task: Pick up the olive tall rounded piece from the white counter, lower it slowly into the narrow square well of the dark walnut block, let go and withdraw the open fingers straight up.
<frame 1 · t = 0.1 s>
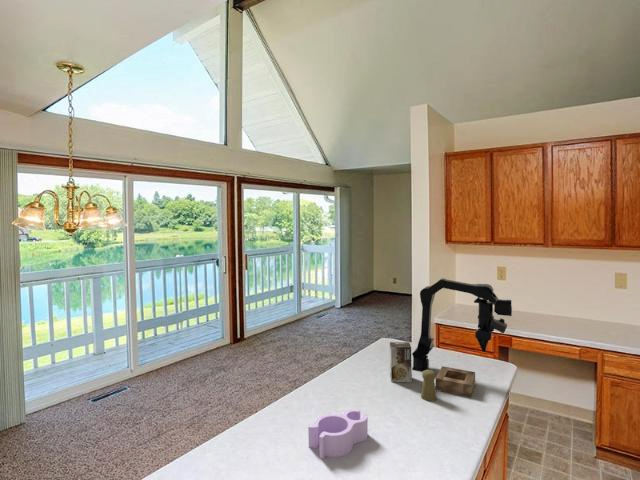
hand: (484, 348, 163), 15 cm above the table, fingers open, 9 cm apart
well block: (455, 386, 159), on the table
olive tall rounded piece: (428, 398, 150), on the table
clip: (340, 442, 121), on the table
coffee box: (400, 379, 167), on the table
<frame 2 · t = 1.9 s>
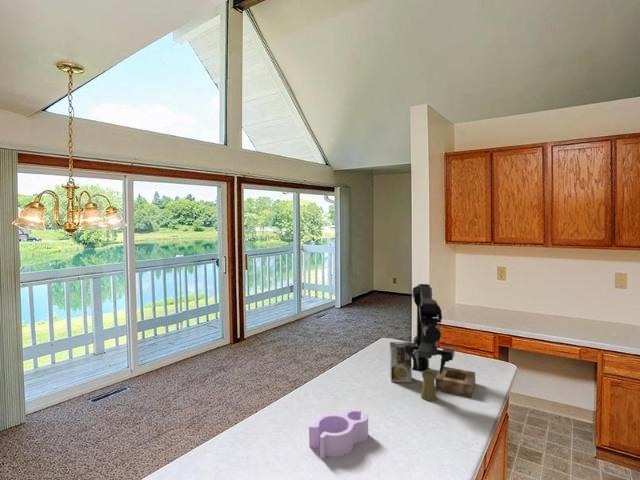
hand: (428, 371, 149), 11 cm above the table, fingers open, 9 cm apart
nothing on the table moved.
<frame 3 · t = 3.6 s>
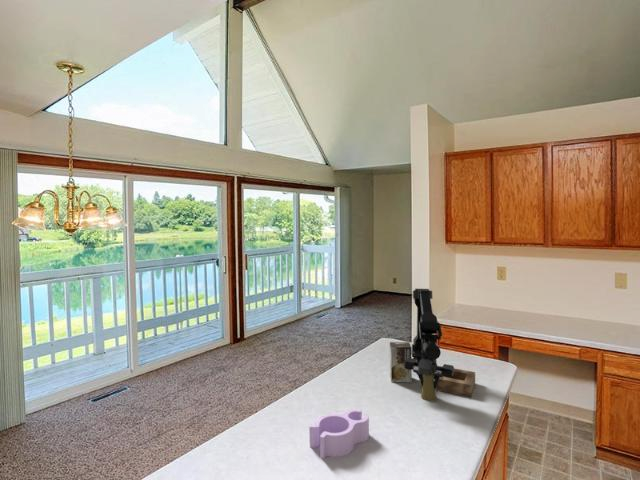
hand: (428, 387, 150), 4 cm above the table, fingers closed on olive tall rounded piece, 4 cm apart
olive tall rounded piece: (428, 397, 150), on the table, touching gripper
everything else where it was.
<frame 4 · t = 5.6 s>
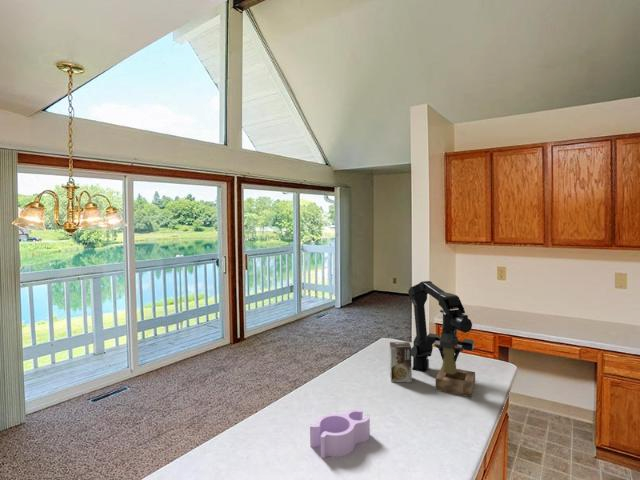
hand: (449, 361, 156), 12 cm above the table, fingers closed on olive tall rounded piece, 4 cm apart
olive tall rounded piece: (449, 371, 156), point 8 cm above the table, touching gripper
everything else where it was.
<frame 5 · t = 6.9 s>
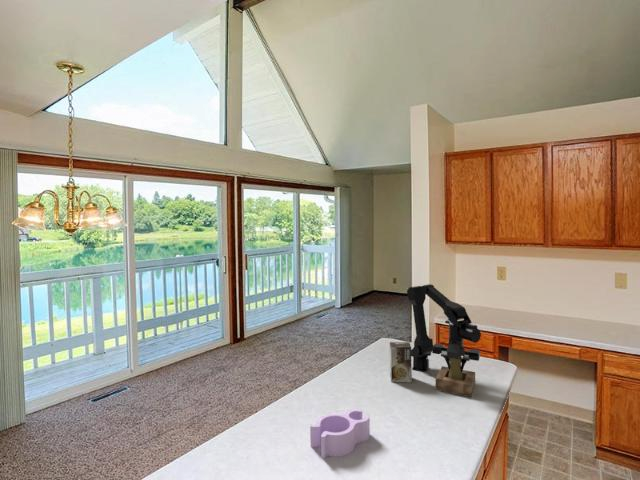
hand: (455, 371, 159), 7 cm above the table, fingers closed on olive tall rounded piece, 4 cm apart
olive tall rounded piece: (455, 380, 159), point 2 cm above the table, touching gripper
everything else where it was.
when the fingers open (6 cm above the table, at t = 7.7 s): olive tall rounded piece drops 1 cm, resting on well block.
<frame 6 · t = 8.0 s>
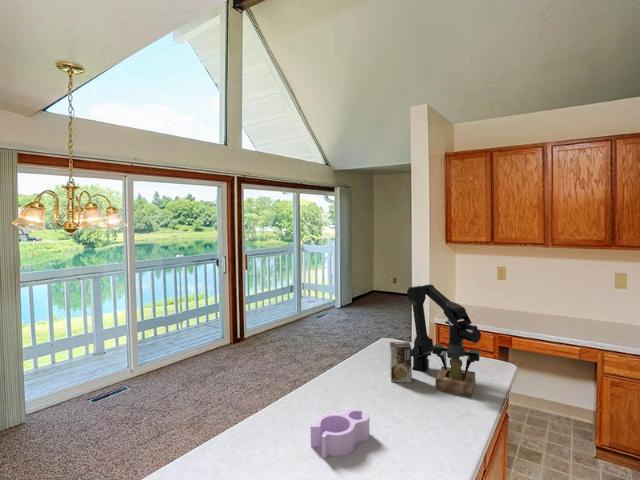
hand: (455, 371, 159), 6 cm above the table, fingers open, 8 cm apart
olive tall rounded piece: (455, 384, 159), point 1 cm above the table, touching well block
everything else where it was.
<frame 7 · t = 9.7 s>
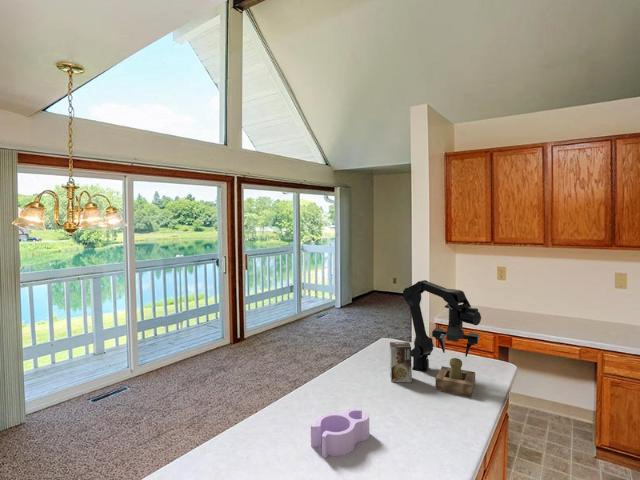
hand: (454, 354, 161), 13 cm above the table, fingers open, 9 cm apart
nothing on the table moved.
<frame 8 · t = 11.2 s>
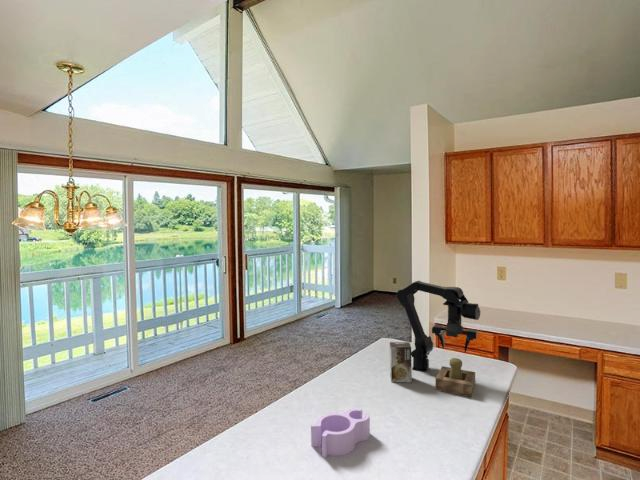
hand: (454, 350, 166), 13 cm above the table, fingers open, 9 cm apart
at the end: olive tall rounded piece 0.0 cm off-centre on the well block, point 0.8 cm above the well block's base; olive tall rounded piece tilted 0°; the gripper is holding nothing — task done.
